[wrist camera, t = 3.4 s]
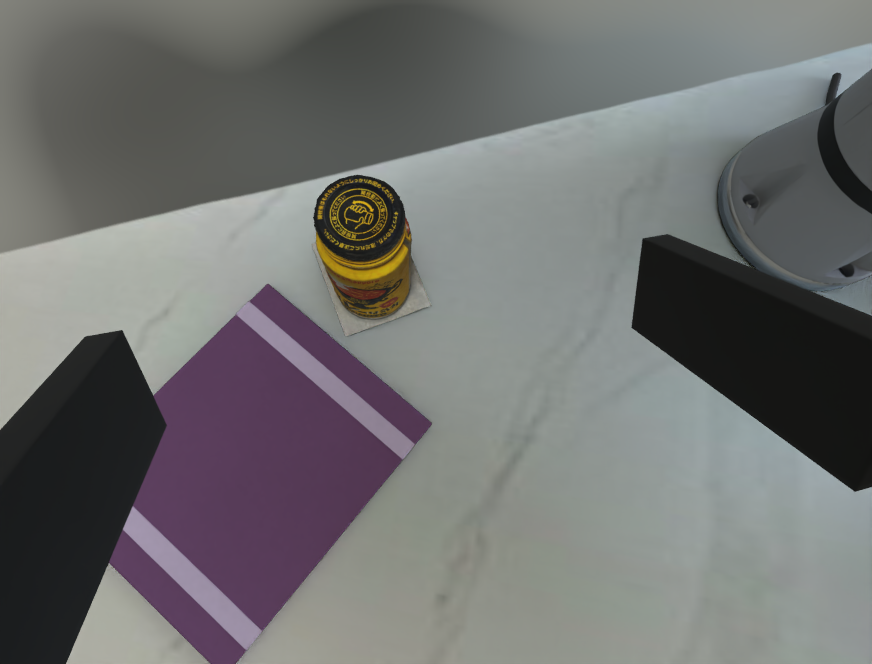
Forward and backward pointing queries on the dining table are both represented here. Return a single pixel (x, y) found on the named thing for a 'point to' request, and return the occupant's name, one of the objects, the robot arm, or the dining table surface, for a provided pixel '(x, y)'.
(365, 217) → the condiment
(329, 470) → the towel
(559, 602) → the dining table surface
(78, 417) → the robot arm
